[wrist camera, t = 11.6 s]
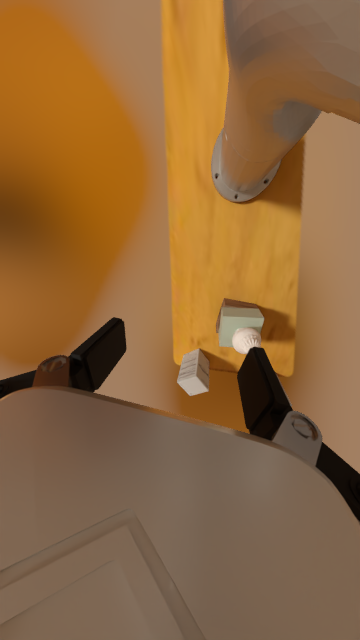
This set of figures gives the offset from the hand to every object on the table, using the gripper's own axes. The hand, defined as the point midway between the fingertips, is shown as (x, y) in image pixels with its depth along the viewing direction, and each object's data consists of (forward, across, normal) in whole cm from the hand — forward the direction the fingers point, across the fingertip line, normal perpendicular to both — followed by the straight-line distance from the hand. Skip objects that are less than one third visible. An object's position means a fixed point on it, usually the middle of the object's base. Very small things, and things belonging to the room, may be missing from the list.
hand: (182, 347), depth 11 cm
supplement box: (+34, -4, +33) cm, 47 cm away
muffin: (+23, -12, +12) cm, 29 cm away
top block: (+28, -12, +12) cm, 33 cm away
